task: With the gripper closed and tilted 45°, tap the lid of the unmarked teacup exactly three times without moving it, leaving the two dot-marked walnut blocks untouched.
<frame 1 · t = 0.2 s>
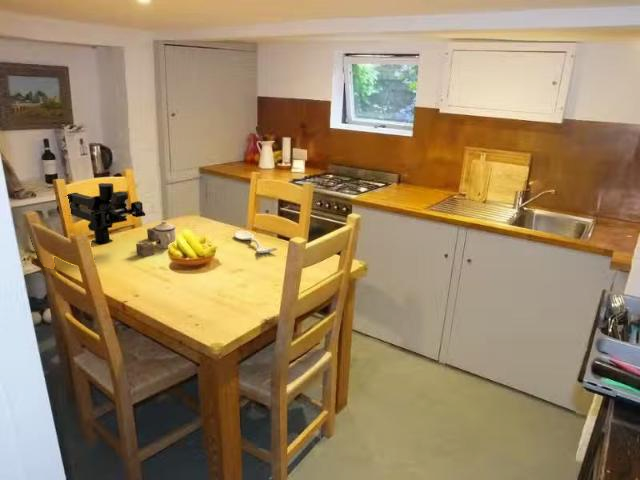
hand: (135, 217, 194), 17 cm above the table, tool horizontal, fingers open, 9 cm apart
spoon: (253, 245, 216), on the table
walnut block three dots: (155, 239, 218), on the table
teacup with lid: (166, 247, 209), on the table
walnut block two dots: (145, 254, 199), on the table
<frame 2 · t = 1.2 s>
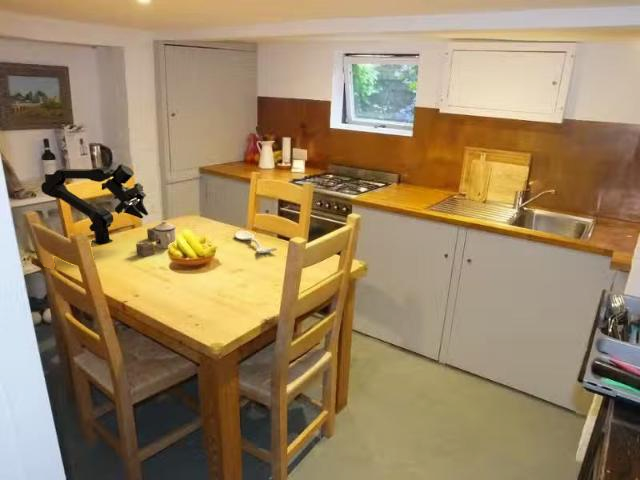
hand: (145, 216, 205), 14 cm above the table, tool tilted 45°, fingers open, 4 cm apart
nothing on the table moved.
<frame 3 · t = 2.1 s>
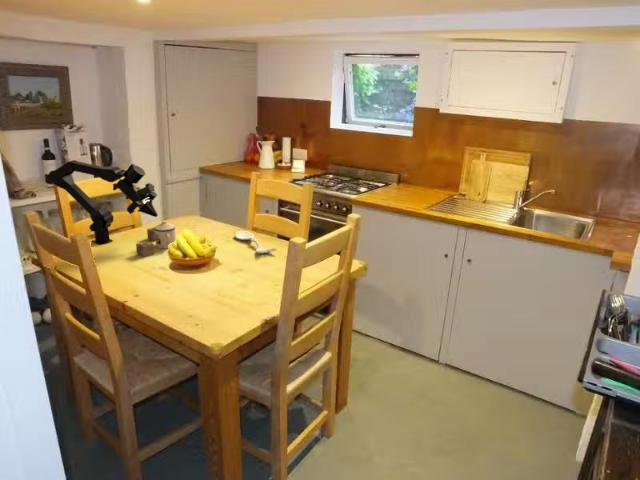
hand: (156, 216, 205), 14 cm above the table, tool tilted 45°, fingers closed
nothing on the table moved.
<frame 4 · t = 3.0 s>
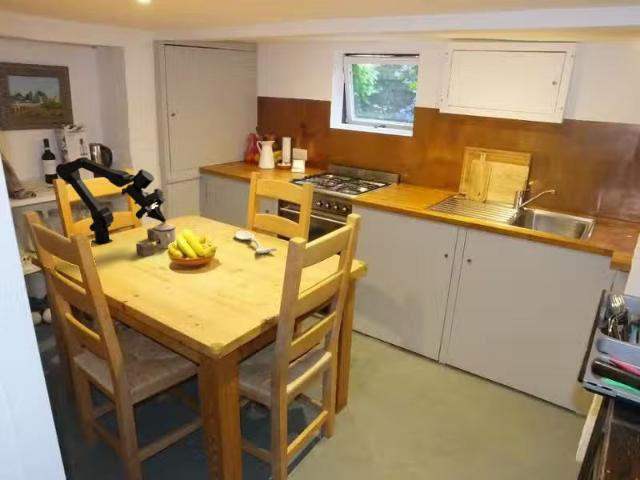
hand: (165, 221, 205), 12 cm above the table, tool tilted 45°, fingers closed
nothing on the table moved.
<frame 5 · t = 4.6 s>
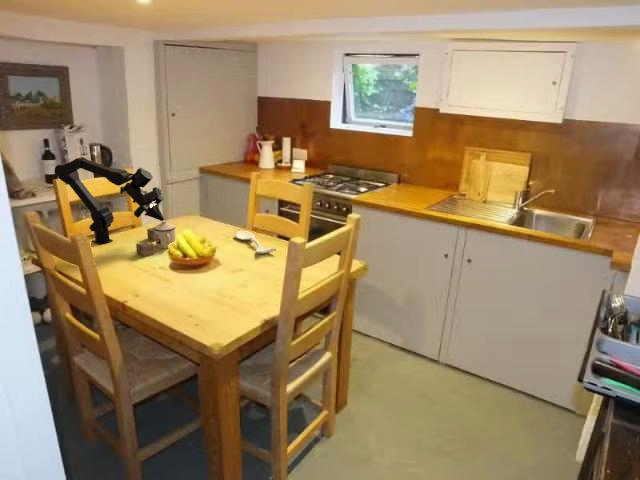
hand: (163, 220, 205), 12 cm above the table, tool tilted 45°, fingers closed
nothing on the table moved.
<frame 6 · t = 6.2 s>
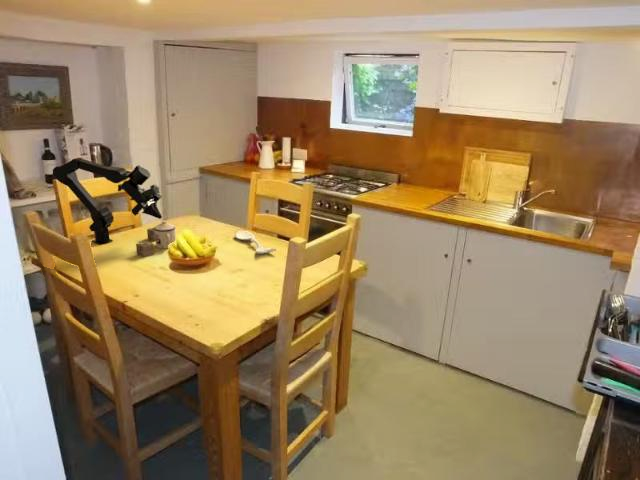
hand: (161, 218, 205), 13 cm above the table, tool tilted 45°, fingers closed
nothing on the table moved.
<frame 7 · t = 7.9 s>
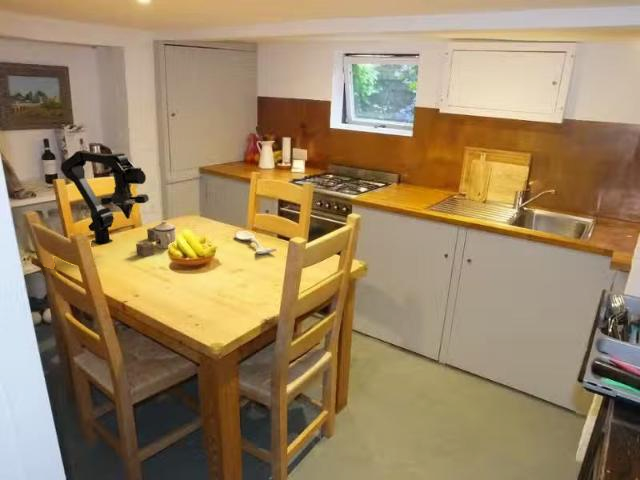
hand: (128, 218, 203), 13 cm above the table, tool pointing down, fingers closed
nothing on the table moved.
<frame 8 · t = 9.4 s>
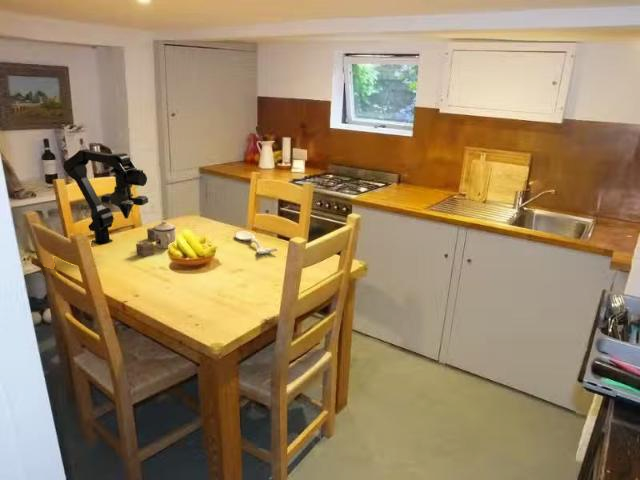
hand: (126, 218, 203), 13 cm above the table, tool pointing down, fingers closed
nothing on the table moved.
at the end: teacup with lid moved 0.2 cm from its start; teacup with lid tilted 0°; walnut block three dots moved 0.1 cm from its start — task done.
